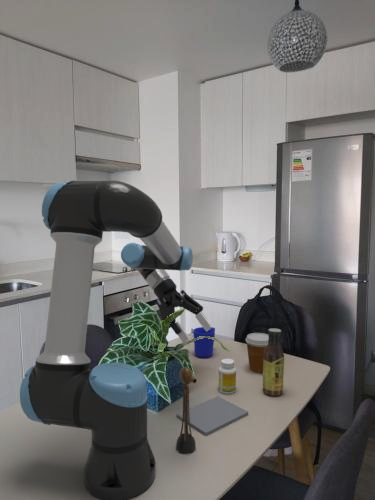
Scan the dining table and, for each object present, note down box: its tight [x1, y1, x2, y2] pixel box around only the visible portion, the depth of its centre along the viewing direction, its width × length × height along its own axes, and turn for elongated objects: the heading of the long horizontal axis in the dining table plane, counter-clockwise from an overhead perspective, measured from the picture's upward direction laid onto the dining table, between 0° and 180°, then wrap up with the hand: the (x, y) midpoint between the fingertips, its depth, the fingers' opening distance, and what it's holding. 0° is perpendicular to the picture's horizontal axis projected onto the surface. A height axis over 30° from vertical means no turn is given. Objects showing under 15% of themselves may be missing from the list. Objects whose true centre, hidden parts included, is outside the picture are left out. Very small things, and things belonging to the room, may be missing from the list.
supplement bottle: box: [218, 358, 237, 395], centre depth 124 cm, size 5×5×10 cm
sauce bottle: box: [262, 327, 285, 397], centre depth 122 cm, size 6×6×20 cm
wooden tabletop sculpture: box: [175, 366, 197, 455], centre depth 93 cm, size 6×5×20 cm
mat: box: [175, 395, 249, 437], centre depth 109 cm, size 16×12×1 cm
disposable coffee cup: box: [245, 332, 269, 374], centre depth 139 cm, size 10×10×12 cm
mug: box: [192, 326, 216, 359], centre depth 154 cm, size 8×12×10 cm
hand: (198, 335), depth 129 cm, fingers open, 13 cm apart
